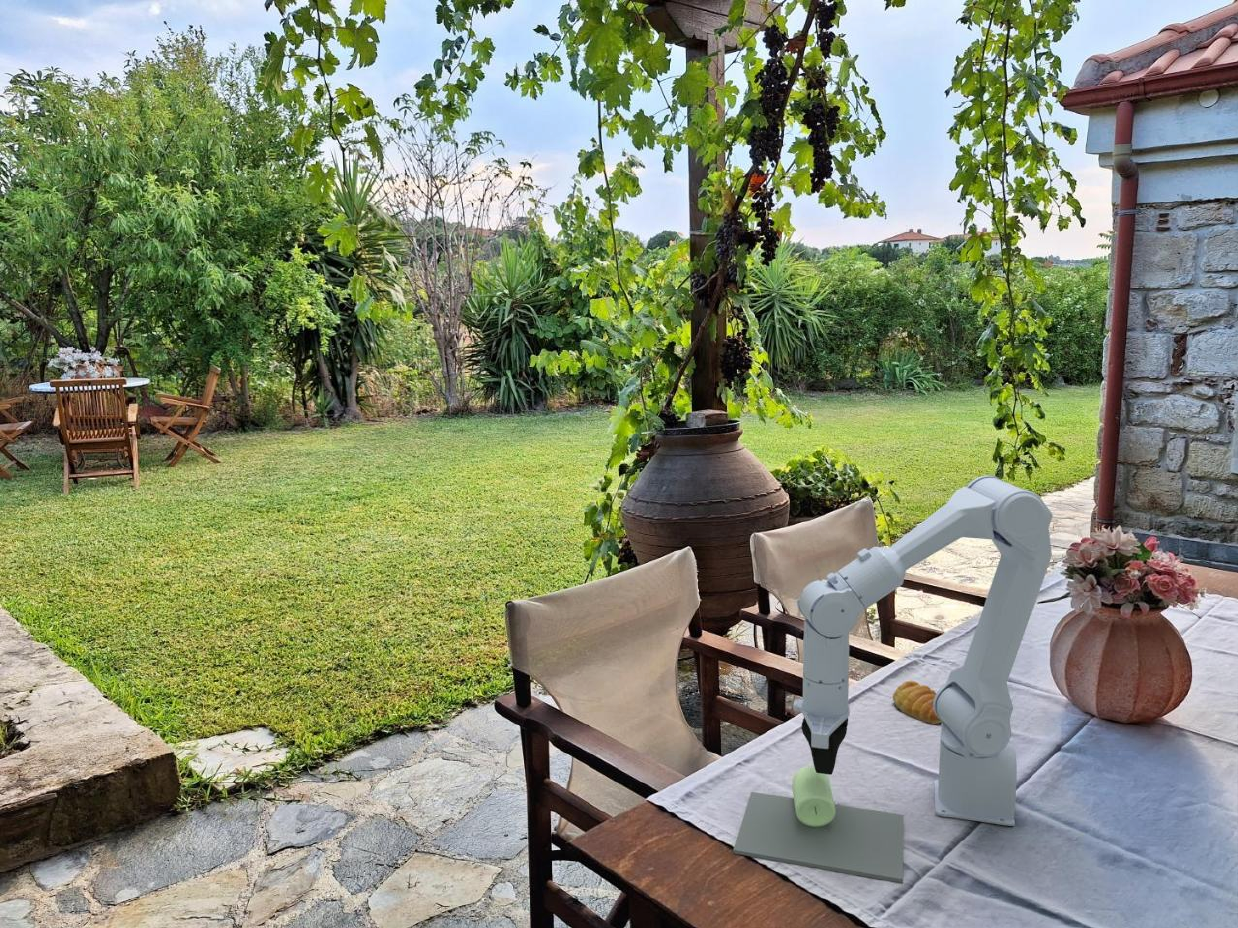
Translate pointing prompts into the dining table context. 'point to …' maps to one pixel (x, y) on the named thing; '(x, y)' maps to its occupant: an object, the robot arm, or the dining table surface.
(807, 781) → the candle
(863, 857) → the mat
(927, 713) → the pastry
